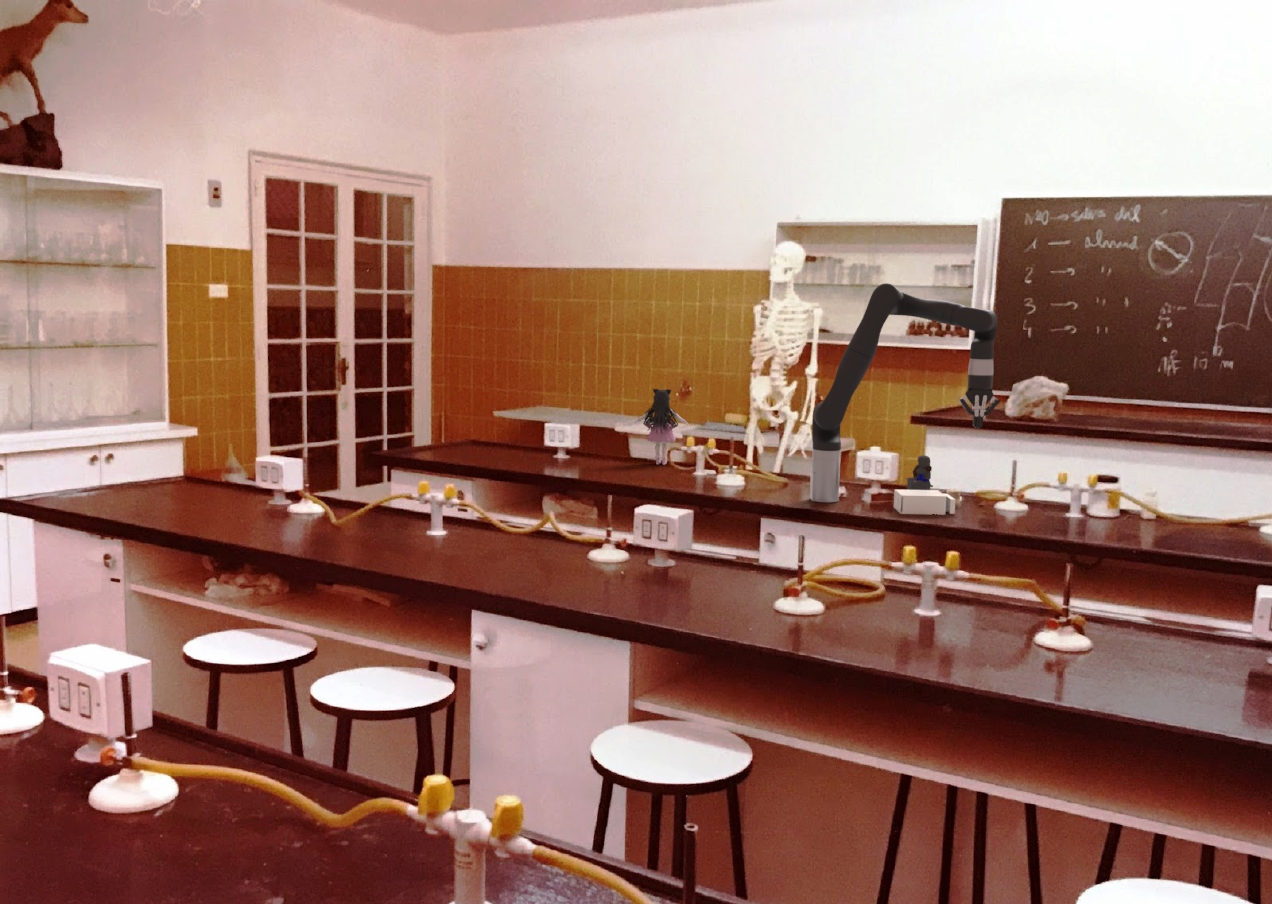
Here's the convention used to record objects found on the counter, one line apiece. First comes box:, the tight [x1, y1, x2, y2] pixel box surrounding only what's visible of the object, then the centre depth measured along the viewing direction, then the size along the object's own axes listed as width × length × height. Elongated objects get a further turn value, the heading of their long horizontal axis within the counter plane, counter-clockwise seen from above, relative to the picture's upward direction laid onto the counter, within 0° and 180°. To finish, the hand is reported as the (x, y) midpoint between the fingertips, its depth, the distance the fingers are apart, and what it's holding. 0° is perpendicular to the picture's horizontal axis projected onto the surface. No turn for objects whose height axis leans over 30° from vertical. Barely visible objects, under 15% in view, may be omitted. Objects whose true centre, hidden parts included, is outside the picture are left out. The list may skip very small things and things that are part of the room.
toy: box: [905, 455, 934, 490], centre depth 384 cm, size 11×10×15 cm
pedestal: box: [945, 489, 961, 509], centre depth 373 cm, size 4×4×5 cm
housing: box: [893, 489, 946, 516], centre depth 364 cm, size 14×11×6 cm
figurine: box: [633, 388, 690, 466], centre depth 452 cm, size 22×10×30 cm, turn 77°
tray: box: [943, 493, 956, 515], centre depth 364 cm, size 16×11×5 cm, turn 89°
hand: (977, 428), depth 360 cm, fingers closed
